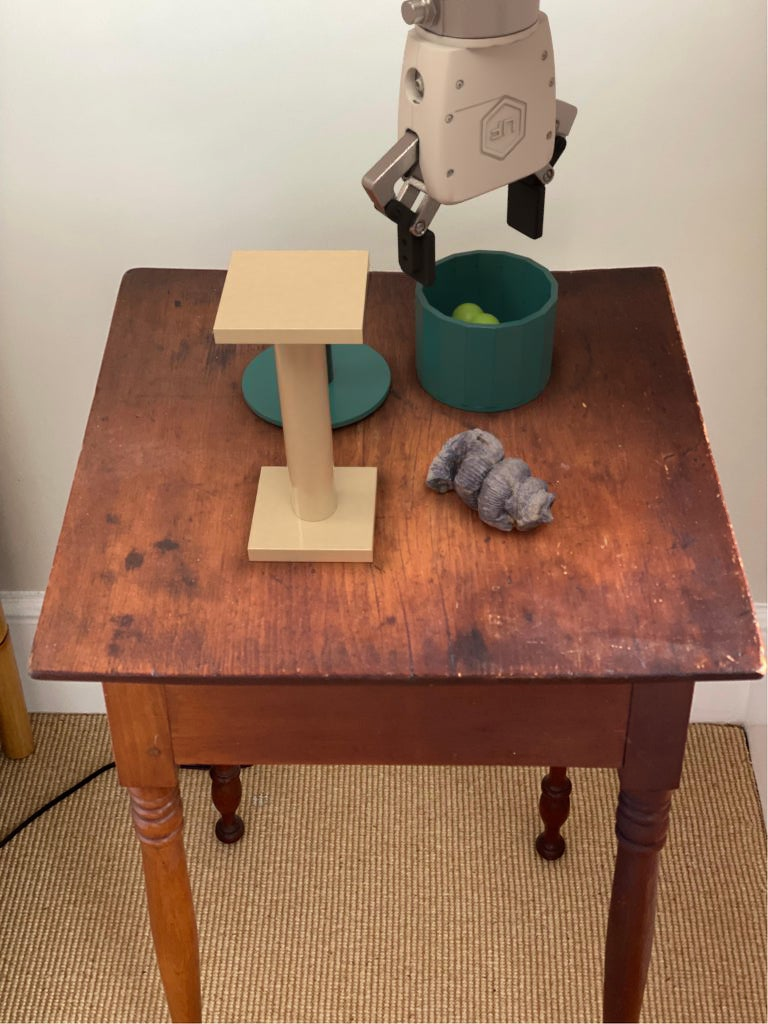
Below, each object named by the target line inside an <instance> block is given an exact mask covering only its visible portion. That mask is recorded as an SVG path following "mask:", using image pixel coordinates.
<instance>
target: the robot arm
mask: <svg viewBox="0 0 768 1024" xmlns="http://www.w3.org/2000/svg"><path fill="white" fill-rule="evenodd" d="M540 4H541V0H404V1H403V2H402V3H401V6H400V13H401V17H402V19H403V21H404V22H405V24H407V25H408V26H412V25H413V26H414V27H413V28H410V29H409V30H407V35H406V39H405V46H404V51H403V57H402V65H401V72H400V73H401V74H400V82H399V95H398V107H397V109H398V110H397V111H398V112H397V142H395V144H394V145H392V147H391V148H390V149H388V151H386V153H385V154H384V155H383V156H381V158H380V159H378V161H377V162H375V163H374V165H372V166H371V168H369V170H367V172H365V174H364V175H362V178H361V183H360V184H361V187H362V188H363V190H364V191H365V193H366V194H367V196H368V197H369V199H370V201H371V202H372V203H373V207H374V209H375V210H376V211H377V212H378V213H380V214H381V215H383V216H384V217H386V218H387V219H389V220H390V221H391V222H393V223H394V224H396V231H397V232H396V234H397V261H398V262H397V263H398V266H399V269H400V270H401V272H402V273H404V274H405V275H407V276H408V277H410V278H411V279H412V280H414V281H416V283H417V282H419V283H420V284H422V285H423V286H425V287H428V286H430V285H433V284H434V281H435V261H436V235H435V234H436V233H434V231H433V230H431V229H429V227H430V225H431V223H432V221H433V219H434V218H435V216H436V215H437V213H438V210H440V207H441V205H444V206H455V205H458V204H462V203H465V202H467V201H470V200H473V199H475V198H478V197H480V196H482V195H485V194H487V193H490V192H493V191H495V190H497V189H500V188H502V187H505V186H507V202H506V224H507V226H508V227H510V228H512V229H513V230H515V231H516V232H519V233H520V234H522V235H524V236H526V237H527V238H528V239H531V240H533V241H536V240H538V239H540V238H542V237H543V234H544V218H545V205H546V204H545V202H546V185H549V184H550V183H551V182H552V181H553V180H554V177H555V169H554V167H555V166H556V164H557V162H558V161H559V160H560V158H561V157H562V155H563V154H564V152H565V150H566V147H567V143H568V142H567V139H566V138H567V137H568V136H569V135H570V132H571V131H572V127H573V125H574V122H575V120H576V117H577V115H578V107H577V106H575V105H573V104H572V103H569V102H566V101H565V100H561V99H559V98H557V88H556V87H557V86H556V85H557V84H556V65H555V64H556V63H555V53H554V52H555V51H554V45H553V37H552V31H551V27H550V21H549V17H548V15H547V13H546V12H545V11H542V10H540V7H541V6H540ZM400 179H401V180H402V182H403V184H402V186H401V187H400V188H399V190H398V191H399V192H398V193H397V194H396V192H395V190H394V189H395V185H396V183H397V182H398V181H399V180H400ZM421 192H422V193H424V196H422V199H421V201H420V203H419V204H418V206H417V208H416V210H415V211H414V210H413V209H412V208H413V206H414V204H415V203H416V200H417V198H418V196H419V195H420V193H421Z"/></svg>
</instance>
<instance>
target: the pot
mask: <svg viewBox="0 0 768 1024" xmlns="http://www.w3.org/2000/svg"><path fill="white" fill-rule="evenodd" d="M558 295H559V283H558V280H556V278H555V276H554V275H553V273H552V272H551V271H550V269H549V268H548V267H546V266H544V265H543V264H541V263H539V262H537V261H536V260H534V259H532V258H530V257H528V256H524V255H520V254H518V253H513V252H510V251H505V250H493V249H492V250H490V249H474V250H468V251H461V252H456V253H452V254H449V255H446V256H445V257H442V258H440V259H438V260H437V259H436V260H435V281H434V284H433V285H430V286H428V287H425V286H423V285H422V284H420V283H419V282H417V281H416V285H415V290H414V301H415V302H414V306H415V307H414V310H415V311H414V314H415V315H414V316H415V317H414V318H415V319H414V320H415V323H414V324H415V328H414V329H415V331H414V332H415V370H416V375H417V379H418V382H419V384H420V385H421V388H422V389H423V390H424V391H425V392H426V393H427V394H428V395H429V396H431V397H432V398H433V399H435V400H436V401H438V402H440V403H442V404H444V405H446V406H449V407H451V408H455V409H459V410H461V411H466V412H476V413H495V412H503V411H508V410H514V409H516V408H520V407H521V406H524V405H526V404H528V403H530V402H531V401H533V400H535V399H536V398H538V396H540V395H541V394H542V393H543V391H545V389H546V387H547V386H548V383H549V381H550V378H551V370H552V361H553V350H554V339H555V330H556V318H557V308H558V299H559V298H558ZM464 303H473V304H475V305H477V306H479V307H480V308H481V309H482V310H483V312H484V313H487V314H491V315H493V316H494V317H496V318H497V319H498V321H499V322H500V324H482V323H468V322H465V321H461V320H458V319H455V318H452V313H453V312H454V310H455V309H456V308H457V307H458V306H459V305H461V304H464Z"/></svg>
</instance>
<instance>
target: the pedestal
mask: <svg viewBox="0 0 768 1024" xmlns="http://www.w3.org/2000/svg"><path fill="white" fill-rule="evenodd" d="M370 267H371V263H370V249H362V250H361V249H347V250H345V249H341V250H340V249H337V250H336V249H335V250H333V249H331V250H330V249H323V250H322V249H321V250H320V249H317V250H316V249H314V250H313V249H308V250H307V249H305V250H304V249H303V250H302V249H301V250H298V249H297V250H296V249H295V250H294V249H293V250H292V249H290V250H287V249H286V250H285V249H284V250H283V249H282V250H281V249H280V250H278V249H277V250H272V249H271V250H265V249H264V250H262V249H261V250H232V252H231V257H230V260H229V264H228V269H227V273H226V277H225V281H224V284H223V288H222V292H221V297H220V299H219V304H218V308H217V312H216V316H215V320H214V323H213V328H212V331H213V337H214V338H213V339H214V344H216V345H273V346H274V352H275V361H276V370H277V379H278V388H279V397H280V406H281V415H282V424H283V427H282V432H283V441H284V448H285V449H284V450H285V458H286V466H284V465H282V466H278V465H275V466H274V465H272V466H271V465H269V466H268V465H264V466H261V467H260V473H259V479H258V484H257V490H256V495H255V496H256V497H255V502H254V508H253V512H252V519H251V524H250V531H249V535H248V542H247V556H248V561H249V562H274V563H275V562H277V563H278V562H281V563H282V562H283V563H286V562H287V563H291V562H294V563H373V561H374V553H375V552H374V550H375V534H376V516H377V503H378V502H377V501H378V500H377V499H378V483H379V473H378V472H379V471H378V467H377V466H335V456H334V454H335V453H334V443H333V429H332V426H331V412H330V399H329V385H328V371H327V358H326V344H364V338H365V337H364V336H365V335H364V334H365V325H366V323H365V322H366V313H367V302H368V291H369V290H368V289H369V278H370Z"/></svg>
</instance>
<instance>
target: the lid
mask: <svg viewBox="0 0 768 1024" xmlns="http://www.w3.org/2000/svg"><path fill="white" fill-rule="evenodd" d="M326 358H327V371H328V385H329V399H330V412H331V426H332V430H333V429H337V428H342V427H345V426H348V425H352V424H354V423H356V422H358V421H361V420H362V419H364V418H367V417H368V416H370V414H372V413H374V412H375V411H376V410H377V409H378V408H379V407H381V405H382V404H383V403H384V402H385V400H386V399H387V396H388V395H389V393H390V389H391V386H392V385H391V384H392V376H391V370H390V367H389V364H388V362H387V361H386V360H385V358H384V357H383V355H381V354H380V353H379V352H378V351H377V350H376V349H374V348H373V347H371V346H369V345H367V344H366V343H363V344H326ZM241 391H242V397H243V399H244V402H245V403H246V404H247V406H248V407H249V409H250V410H251V411H252V412H253V413H254V414H256V415H257V416H258V417H259V418H261V419H263V420H264V421H266V422H268V423H270V424H273V425H275V426H279V427H281V428H283V424H282V415H281V406H280V397H279V388H278V379H277V370H276V361H275V352H274V345H271V346H270V347H267V348H266V349H265V350H263V351H261V352H260V353H258V355H257V356H255V357H254V358H253V359H252V360H251V361H250V362H249V363H248V365H247V366H246V368H245V370H244V372H243V374H242V379H241Z"/></svg>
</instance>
